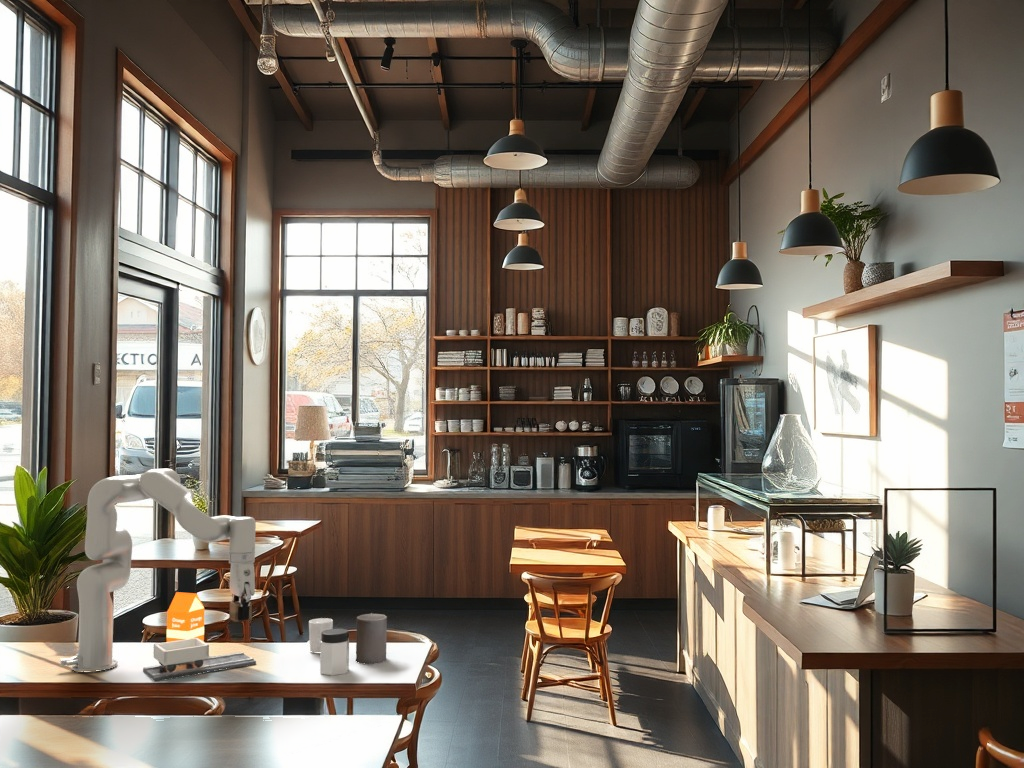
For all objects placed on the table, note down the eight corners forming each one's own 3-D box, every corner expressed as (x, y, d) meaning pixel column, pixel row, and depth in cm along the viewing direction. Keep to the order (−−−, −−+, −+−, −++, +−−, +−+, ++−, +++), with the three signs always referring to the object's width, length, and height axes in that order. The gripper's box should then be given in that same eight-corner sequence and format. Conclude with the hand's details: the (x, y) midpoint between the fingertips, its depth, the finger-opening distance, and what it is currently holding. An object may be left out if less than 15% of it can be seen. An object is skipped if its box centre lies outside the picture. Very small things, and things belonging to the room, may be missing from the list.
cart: (163, 673, 244) (164, 651, 245) (153, 665, 254) (153, 644, 254) (208, 666, 252) (209, 645, 253) (196, 658, 262) (197, 637, 262)
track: (154, 681, 242) (154, 676, 242) (143, 671, 253) (143, 666, 253) (255, 664, 260) (255, 659, 260) (240, 655, 271) (240, 651, 271)
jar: (345, 675, 247) (346, 634, 248) (318, 676, 247) (318, 635, 247) (350, 667, 256) (350, 628, 257) (324, 667, 255) (324, 628, 256)
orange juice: (187, 658, 268) (188, 595, 269) (165, 656, 271) (167, 594, 272) (204, 652, 275) (205, 591, 276) (183, 650, 278) (184, 590, 280)
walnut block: (234, 621, 249) (235, 604, 249) (229, 618, 253) (229, 602, 253) (251, 619, 252) (251, 603, 252) (245, 616, 256) (246, 600, 256)
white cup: (319, 655, 271) (319, 624, 271) (303, 651, 275) (303, 621, 276) (337, 650, 277) (337, 620, 278) (322, 647, 282) (322, 617, 282)
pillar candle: (349, 661, 263) (350, 613, 264) (370, 654, 271) (371, 608, 272) (372, 666, 257) (372, 617, 258) (393, 659, 266) (393, 611, 266)
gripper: (264, 560, 249) (262, 621, 248) (244, 553, 262) (242, 612, 261) (239, 562, 244) (237, 624, 243) (220, 555, 258) (218, 614, 257)
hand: (240, 617), depth 252 cm, fingers closed on walnut block, 5 cm apart
